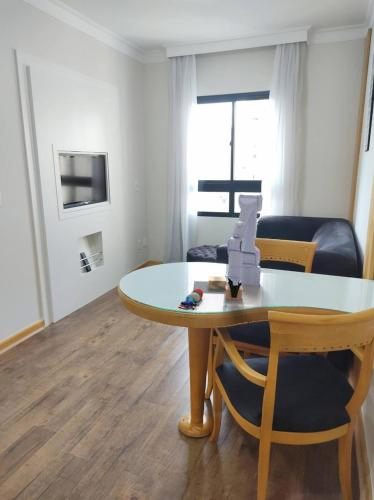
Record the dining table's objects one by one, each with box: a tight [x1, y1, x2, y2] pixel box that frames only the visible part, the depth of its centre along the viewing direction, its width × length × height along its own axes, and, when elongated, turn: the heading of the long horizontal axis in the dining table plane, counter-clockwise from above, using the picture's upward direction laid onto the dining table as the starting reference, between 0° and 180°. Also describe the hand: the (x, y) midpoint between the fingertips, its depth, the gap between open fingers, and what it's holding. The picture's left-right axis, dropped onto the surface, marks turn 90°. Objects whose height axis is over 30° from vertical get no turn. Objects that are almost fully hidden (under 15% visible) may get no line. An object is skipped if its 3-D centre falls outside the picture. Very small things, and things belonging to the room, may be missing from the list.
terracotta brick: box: [224, 285, 244, 301], centre depth 156 cm, size 7×4×5 cm, turn 86°
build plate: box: [192, 280, 229, 295], centre depth 168 cm, size 20×16×1 cm
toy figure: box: [179, 289, 204, 308], centre depth 151 cm, size 8×5×15 cm
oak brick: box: [208, 275, 227, 289], centre depth 169 cm, size 8×6×4 cm
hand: (233, 295), depth 156 cm, fingers closed on terracotta brick, 4 cm apart
